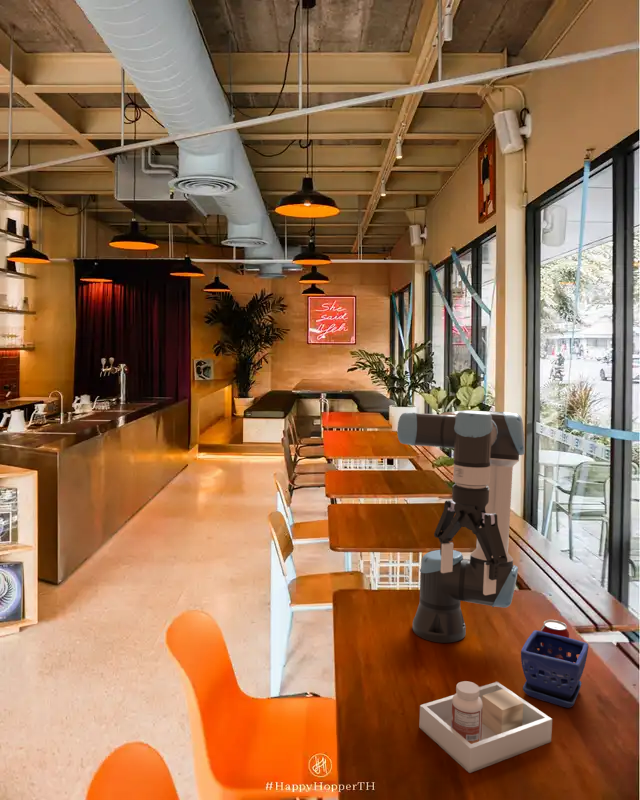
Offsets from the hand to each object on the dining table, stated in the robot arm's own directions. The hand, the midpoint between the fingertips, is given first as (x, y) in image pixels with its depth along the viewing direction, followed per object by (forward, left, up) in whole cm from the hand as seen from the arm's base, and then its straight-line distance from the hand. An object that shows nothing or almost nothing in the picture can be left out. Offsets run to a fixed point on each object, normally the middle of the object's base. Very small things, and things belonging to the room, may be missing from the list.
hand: (466, 582), depth 131 cm
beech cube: (+5, +7, -31) cm, 32 cm away
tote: (+5, +2, -32) cm, 32 cm away
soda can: (-8, +37, -32) cm, 50 cm away
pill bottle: (+5, -3, -31) cm, 32 cm away
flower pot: (0, +28, -32) cm, 43 cm away
